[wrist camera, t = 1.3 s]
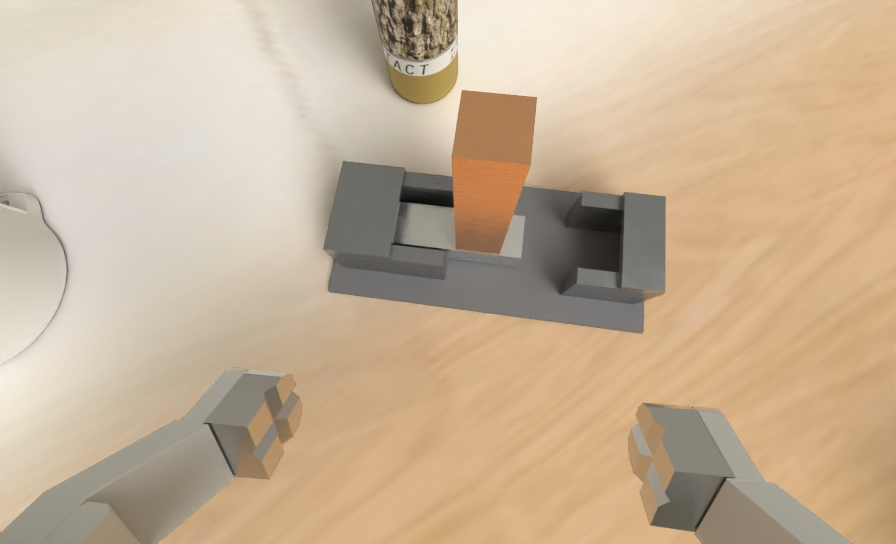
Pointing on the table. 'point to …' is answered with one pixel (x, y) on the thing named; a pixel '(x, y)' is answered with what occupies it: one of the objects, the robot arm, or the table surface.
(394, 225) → the grey u-shaped block
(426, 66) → the paper tube
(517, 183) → the brown piece
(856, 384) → the table surface
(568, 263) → the grey rectangular plate
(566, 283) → the socket
